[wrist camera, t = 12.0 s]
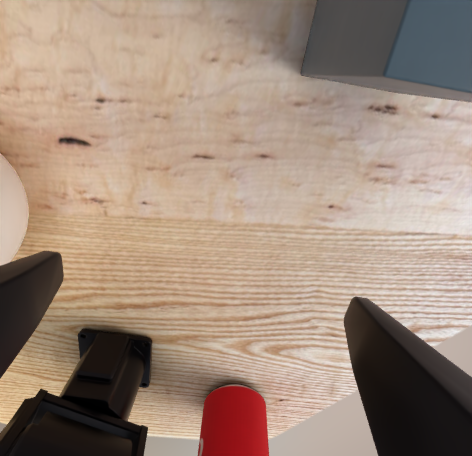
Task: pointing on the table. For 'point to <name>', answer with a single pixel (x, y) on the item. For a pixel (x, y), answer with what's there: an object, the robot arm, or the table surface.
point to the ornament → (11, 212)
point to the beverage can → (234, 423)
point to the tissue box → (394, 46)
